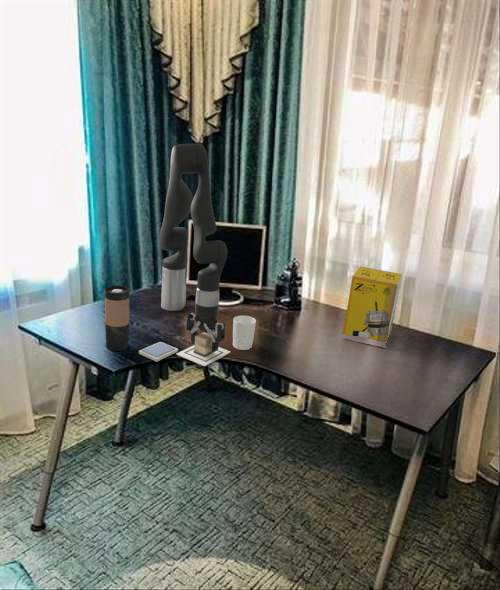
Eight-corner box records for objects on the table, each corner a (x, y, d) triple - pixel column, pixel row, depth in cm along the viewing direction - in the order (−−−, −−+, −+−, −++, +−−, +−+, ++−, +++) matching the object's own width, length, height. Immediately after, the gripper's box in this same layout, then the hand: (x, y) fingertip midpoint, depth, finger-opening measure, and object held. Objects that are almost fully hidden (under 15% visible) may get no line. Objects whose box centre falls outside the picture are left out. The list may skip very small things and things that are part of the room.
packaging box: (385, 349, 180) (398, 284, 172) (342, 338, 185) (352, 276, 177) (390, 334, 194) (402, 274, 186) (350, 324, 200) (360, 266, 192)
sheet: (203, 341, 172) (203, 340, 172) (230, 352, 166) (230, 351, 166) (176, 354, 161) (176, 353, 160) (204, 366, 155) (204, 365, 154)
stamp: (202, 348, 166) (203, 332, 164) (213, 352, 164) (214, 336, 162) (193, 352, 162) (194, 336, 160) (204, 357, 160) (205, 340, 158)
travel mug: (133, 344, 165) (134, 288, 158) (120, 353, 158) (120, 295, 151) (114, 339, 167) (113, 284, 160) (100, 348, 160) (99, 290, 154)
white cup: (257, 345, 173) (259, 319, 170) (247, 353, 167) (250, 326, 163) (237, 339, 176) (239, 313, 173) (227, 347, 169) (229, 320, 166)
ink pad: (160, 344, 167) (160, 340, 166) (177, 351, 163) (178, 348, 162) (138, 353, 159) (138, 350, 158) (156, 361, 155) (156, 358, 154)
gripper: (231, 304, 157) (228, 350, 162) (197, 293, 164) (195, 337, 169) (217, 310, 151) (214, 357, 156) (182, 298, 158) (180, 344, 163)
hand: (204, 347), depth 162 cm, fingers open, 8 cm apart
